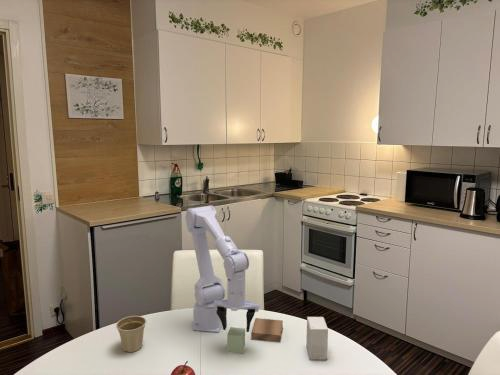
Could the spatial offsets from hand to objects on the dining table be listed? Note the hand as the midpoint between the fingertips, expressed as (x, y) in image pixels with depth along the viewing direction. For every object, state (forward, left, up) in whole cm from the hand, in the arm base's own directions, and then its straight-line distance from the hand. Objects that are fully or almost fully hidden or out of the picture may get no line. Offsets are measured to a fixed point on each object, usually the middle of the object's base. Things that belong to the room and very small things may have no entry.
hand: (236, 329), depth 123 cm
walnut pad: (+9, +11, -7) cm, 16 cm away
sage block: (0, 0, -7) cm, 7 cm away
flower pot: (-34, -5, -7) cm, 35 cm away
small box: (+26, +2, -7) cm, 27 cm away
